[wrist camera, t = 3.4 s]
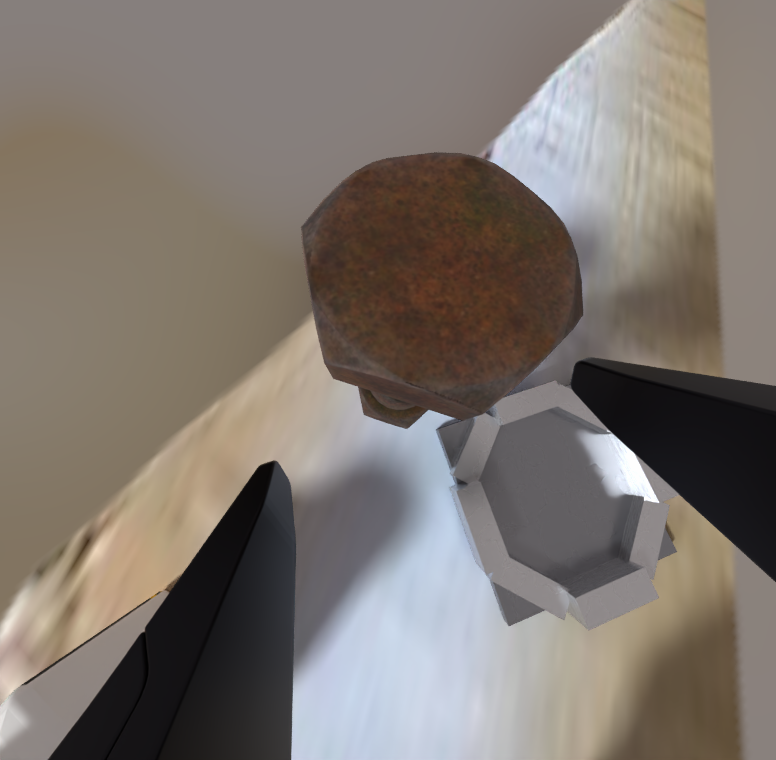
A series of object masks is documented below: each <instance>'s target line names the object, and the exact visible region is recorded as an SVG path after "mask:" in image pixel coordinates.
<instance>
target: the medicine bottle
mask: <svg viewBox="0 0 776 760" xmlns="http://www.w3.org/2000/svg"><path fill="white" fill-rule="evenodd" d="M168 594H169V592H168V591H166V590H164V591H160V592H158V593H157V594H155V595H154V596H152V597H151V598H149V599H148V600H146V601H145V602H143V603H142V604H140V605H139V606H137V607H136V608H134V609H133V610H132V611H130V612H129V613H127V614H126V615H124V616H123V617H121V618H120V619H118V620H117V621H115V622H114V623H112V624H111V625H109V626H108V627H106V628H105V629H103V630H102V631H101V632H99V633H98V634H96V635H95V636H93V637H92V638H90V639H89V640H87V641H86V642H84V643H83V644H81V645H80V646H78V647H77V648H75V649H74V650H72V651H71V652H70V653H68V654H67V655H65V656H64V657H62V658H61V659H59V660H58V661H56V662H55V663H53V664H52V665H50V666H49V667H47V668H46V669H44V670H43V671H41V672H40V673H39V674H37V675H36V676H34V677H33V678H31V679H30V680H28V681H27V682H25V683H24V684H22V685H21V686H20V687H18V688H17V689H16V690H14V691H13V692H12V693H11V694H10V695H9V696H8V697H7V699H6V700H5V701H4V702H3V703H2V704H1V705H0V760H48V758H49V757H50V756H51V754H52V753H53V752H54V750H55V749H56V748H57V747H58V745H59V744H60V743H61V741H62V740H63V739H64V737H65V736H66V735H67V733H68V732H69V731H70V729H71V728H72V727H73V726H74V724H75V723H76V722H77V720H78V719H79V718H80V716H81V715H82V714H83V712H84V711H85V710H86V708H87V707H88V706H89V704H90V703H91V702H92V700H93V699H94V697H95V696H96V695H97V693H98V692H99V691H100V689H101V688H102V686H103V685H104V684H105V682H106V681H107V680H108V678H109V677H110V675H111V674H112V673H113V671H114V670H115V669H116V667H117V666H118V664H119V663H120V662H121V660H122V659H123V657H124V656H125V655H126V653H127V652H128V650H129V649H130V647H131V646H132V645H133V643H134V642H135V640H136V639H137V638H138V636H139V635H140V634H141V633H142V632H145V627H146V625H147V624H148V622H149V621H150V619H151V618H152V617H153V615H154V614H155V612H156V611H157V610H158V608H159V607H160V605H161V604H162V602H163V601H164V600H165V598H166V597H167V595H168Z"/></svg>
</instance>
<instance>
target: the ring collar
mask: <svg viewBox="0 0 776 760" xmlns="http://www.w3.org/2000/svg"><path fill="white" fill-rule="evenodd" d="M436 432H437V434H438V437H439V440H440V443H441V445H442V448H443V451H444V454H445V457H446V459H447V462H448V465H449V468H450V471H451V472H450V475H452V476H453V479H454V482H455V484H456V485H454V486H451V487H449V488H450V491H451V494H452V497H453V500H454V502H455V505H456V508H457V511H458V514H459V517H460V519H461V522H462V525H463V528H464V531H465V534H466V536H467V539H468V542H469V545H470V548H471V551H472V553H473V556H474V559H475V562H476V564H477V565H478V566H479V567H480V568H481V569H482V570H483V572H484V573H485V574H486V576H487V577H488V578H489V579H490V582H491V585H492V587H493V590H494V593H495V596H496V599H497V601H498V604H499V607H500V610H501V612H502V615H503V618H504V620H505V622H506V623H507V624H508V626H511V625H513V624H515V623H517V622H520V621H522V620H524V619H526V618H529V617H531V616H533V615H535V614H538V613H540V612H542V611H544V610H546V611H548V612H550V613H552V614H553V615H555V616H557V617H559V618H561V619H563V620H565V616H566V612H567V611H568V613H569V614H570V615H571V616H572V617H574V618H575V619H576V620H577V621H578V622H579V623H581V624H582V625H583V626H584V627H585V628H586V629H588V630H591V629H593V628H595V627H597V626H599V625H601V624H604V623H606V622H608V621H610V620H612V619H614V618H617V617H619V616H621V615H623V614H625V613H627V612H630V611H632V610H634V609H636V608H638V607H640V606H643V605H645V604H647V603H649V602H651V601H653V600H655V599H658V598H659V596H658V594H657V592H656V590H655V588H654V586H653V584H652V581H651V579H652V580H653V579H654V574H655V570H656V565H657V561H658V560H660V559H662V558H664V557H666V556H669V555H671V554H673V553H675V552H677V551H676V549H675V547H674V545H673V543H672V541H671V539H670V537H669V535H668V533H667V531H666V529H665V524H666V520H667V515H668V511H669V506H670V505H668V504H666V503H664V502H663V501H666V500H668V499H671V498H673V497H675V496H678V495H679V494H678V493H677V492H676V491H675V490H674V489H673V488H672V487H671V486H669V485H668V484H667V483H666V482H665V481H664V480H663V479H662V478H661V477H660V476H658V475H657V474H656V473H655V472H654V471H653V470H652V469H651V468H650V467H649V466H647V465H646V464H645V463H644V462H643V461H642V460H641V459H640V458H639V457H638V456H636V455H635V454H634V453H633V452H632V451H631V450H630V449H629V448H628V447H627V446H625V445H624V444H623V443H622V442H621V441H620V440H619V439H618V438H617V437H616V436H615V435H613V434H612V433H611V432H610V431H609V430H608V429H607V428H606V427H605V426H604V425H603V424H602V422H601V421H600V420H599V419H598V418H597V417H596V416H595V415H594V414H593V413H592V412H591V411H590V409H589V408H588V407H587V406H586V405H585V404H584V403H583V402H582V401H581V400H580V399H579V397H578V396H577V395H576V394H575V393H574V392H573V391H572V389H571V385H568V386H563V385H561V384H558V383H557V381H556V380H555V381H552V382H549V383H546V384H543V385H540V386H537V387H534V388H531V389H528V390H525V391H522V392H519V393H516V394H513V395H510V396H507V397H504V398H502V399H501V400H499V401H498V402H497V403H496V404H495V405H493V406H492V407H491V408H490V409H489V410H487V413H484V414H483V415H479V416H476V417H473V418H470V419H467V420H464V421H461V422H458V423H455V424H452V425H449V426H446V427H443V428H440V429H437V430H436Z"/></svg>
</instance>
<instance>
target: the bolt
mask: <svg viewBox="0 0 776 760" xmlns="http://www.w3.org/2000/svg"><path fill="white" fill-rule="evenodd" d="M301 230H302V248H303V255H304V263H305V269H306V275H307V280H308V285H309V291H310V297H311V302H312V308H313V313H314V319H315V325H316V329H317V333H318V338H319V342H320V346H321V351H322V355H323V359H324V363H325V365H326V367H327V368H328V370H329V372H330V374H331V375H332V377H333V379H336V380H339V381H343V382H346V383H349V384H352V385H355V386H358V388H359V393H360V398H361V403H362V408H363V413H364V415H366V416H369V417H371V418H374V419H377V420H380V421H383V422H385V423H389V424H392V425H395V426H398V427H402V428H405V429H407V428H409V427H410V426H411V425H412V424H413V423H415V422H416V421H417V420H418V419H419V418H420V417H421V416H422V415H423V414H424V413H425V412H427V411H428V410H432V411H435V412H438V413H441V414H444V415H447V416H450V417H453V418H456V419H459V420H462V421H463V420H467V419H470V418H473V417H476V416H479V415H483V414H484V413H485V412H486V411H487V410H489V409H490V408H491V407H492V406H493V405H495V404H496V403H497V402H498V401H499V400H501V399H502V398H503V397H504V396H505V395H507V394H508V393H509V392H510V391H511V390H513V389H514V388H515V387H516V386H517V385H518V384H519V383H520V382H521V381H522V380H523V379H525V378H526V377H527V376H528V375H529V374H530V373H531V372H532V371H533V370H534V369H535V368H536V367H537V366H538V365H539V364H540V363H541V362H542V361H543V360H544V359H545V358H546V357H547V356H548V355H549V354H550V353H551V352H552V351H553V350H554V349H555V348H556V346H557V345H558V344H559V343H560V342H561V341H562V340H563V339H564V338H565V337H566V336H567V335H568V334H569V333H570V332H571V331H572V330H573V329H574V327H575V326H576V324H577V323H578V321H579V320H580V318H581V317H582V316H583V301H582V281H581V275H580V269H579V264H578V258H577V254H576V251H575V248H574V245H573V242H572V239H571V237H570V235H569V233H568V231H567V229H566V227H565V225H564V223H563V222H562V221H561V219H560V218H559V217H558V216H557V214H556V213H555V212H554V211H553V210H552V208H551V207H550V206H548V205H547V204H546V203H545V202H544V201H543V200H542V199H540V198H539V197H538V196H537V195H536V194H535V193H534V192H533V191H531V190H530V189H529V188H528V187H526V186H525V185H524V184H523V183H521V182H520V181H519V180H518V179H516V178H515V177H514V176H513V175H511V174H510V173H508V172H507V171H505V170H504V169H502V168H501V167H499V166H498V165H496V164H495V163H492V162H489V161H487V160H484V159H482V158H479V157H475V156H470V155H465V154H461V153H427V154H418V155H410V156H401V157H393V158H386V159H382V160H379V161H376V162H372V163H371V164H368V165H366V166H365V167H363V168H361V169H359V170H357V171H355V172H354V173H353V174H351V175H350V176H349V177H347V178H346V179H345V180H343V181H342V182H341V183H340V184H339V185H338V186H337V187H336V188H335V189H334V190H333V191H332V192H331V193H330V194H329V195H328V196H327V197H326V198H325V199H323V201H322V202H321V203H320V204H319V206H318V207H317V208H316V209H315V211H314V212H313V213H312V214H311V216H310V217H309V218H308V219H307V221H306V222H305V223H304V225H303V226H302V227H301Z"/></svg>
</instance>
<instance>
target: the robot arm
mask: <svg viewBox="0 0 776 760" xmlns="http://www.w3.org/2000/svg"><path fill="white" fill-rule="evenodd" d="M570 385H571V389H572V391H573V392H574V393H575V394H576V395H577V396H578V397H579V399H580V400H581V401H582V402H583V403H584V404H585V405H586V406H587V407H588V408H589V409H590V411H591V412H592V413H593V414H594V415H595V416H596V417H597V418H598V419H599V420H600V421H601V422H602V424H603V425H604V426H605V427H606V428H607V429H608V430H609V431H610V432H611V433H612V434H613V435H615V436H616V437H617V438H618V439H619V440H620V441H621V442H622V443H623V444H624V445H625V446H627V447H628V448H629V449H630V450H631V451H632V452H633V453H634V454H635V455H636V456H638V457H639V458H640V459H641V460H642V461H643V462H644V463H645V464H646V465H647V466H649V467H650V468H651V469H652V470H653V471H654V472H655V473H656V474H657V475H658V476H660V477H661V478H662V479H663V480H664V481H665V482H666V483H667V484H668V485H669V486H671V487H672V488H673V489H674V490H675V491H676V492H677V493H678V494H679V495H680V496H682V497H683V498H684V499H685V500H686V501H687V502H688V503H689V504H690V505H691V506H693V507H694V508H695V509H696V510H697V511H698V512H699V513H700V514H701V515H702V516H704V517H705V518H706V519H707V520H708V521H709V522H710V523H711V524H712V525H713V526H715V527H716V528H717V529H718V530H719V531H720V532H721V533H722V534H723V535H724V536H726V537H727V538H728V539H729V540H730V541H731V542H732V543H733V544H734V545H735V546H736V547H738V548H739V549H740V550H741V551H742V552H743V553H744V554H745V555H746V556H747V557H749V558H750V559H751V560H752V561H753V562H754V563H755V564H756V565H757V566H759V567H760V568H761V569H762V570H763V571H764V572H765V573H766V574H767V575H768V576H769V577H771V578H772V579H773V580H774V581H775V582H776V386H772V385H765V384H758V383H753V382H746V381H740V380H733V379H727V378H721V377H714V376H708V375H702V374H695V373H689V372H682V371H676V370H669V369H663V368H657V367H650V366H644V365H637V364H631V363H624V362H618V361H612V360H605V359H599V358H586V359H583V360H580V361H578V362H577V363H576V364H575V366H574V370H573V374H572V379H571V384H570ZM295 569H296V539H295V527H294V516H293V505H292V494H291V485H290V482H289V479H288V477H287V476H286V474H285V473H284V471H283V469H282V468H281V466H280V464H279V463H278V462H277V461H270V462H267V463H264V464H262V465H260V466H259V467H258V468H257V469H256V471H255V472H254V474H253V475H252V476H251V478H250V479H249V481H248V482H247V483H246V485H245V486H244V488H243V489H242V491H241V492H240V493H239V495H238V496H237V498H236V499H235V500H234V502H233V503H232V505H231V506H230V508H229V509H228V510H227V512H226V513H225V515H224V516H223V517H222V519H221V520H220V522H219V523H218V525H217V526H216V527H215V529H214V530H213V532H212V533H211V534H210V536H209V537H208V539H207V540H206V542H205V543H204V544H203V546H202V547H201V549H200V550H199V551H198V553H197V554H196V556H195V557H194V559H193V560H192V561H191V563H190V564H189V566H188V567H187V568H186V570H185V571H184V573H183V574H182V576H181V577H180V578H179V580H178V581H177V583H176V584H175V585H174V587H173V588H172V590H171V591H170V593H169V594H168V595H167V597H166V598H165V600H164V601H163V602H162V604H161V605H160V607H159V608H158V610H157V611H156V612H155V614H154V615H153V617H152V618H151V619H150V621H149V622H148V624H147V625H146V627H145V632H142V633H141V634H140V635H139V636H138V638H137V639H136V640H135V642H134V643H133V645H132V646H131V647H130V649H129V650H128V652H127V653H126V655H125V656H124V657H123V659H122V660H121V662H120V663H119V664H118V666H117V667H116V669H115V670H114V671H113V673H112V674H111V675H110V677H109V678H108V680H107V681H106V682H105V684H104V685H103V686H102V688H101V689H100V691H99V692H98V693H97V695H96V696H95V697H94V699H93V700H92V702H91V703H90V704H89V706H88V707H87V708H86V710H85V711H84V712H83V714H82V715H81V716H80V718H79V719H78V720H77V722H76V723H75V724H74V726H73V727H72V728H71V729H70V731H69V732H68V733H67V735H66V736H65V737H64V739H63V740H62V741H61V743H60V744H59V745H58V747H57V748H56V749H55V750H54V752H53V753H52V754H51V756H50V757H49V758H48V760H291V744H292V701H293V657H294V613H295Z"/></svg>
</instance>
